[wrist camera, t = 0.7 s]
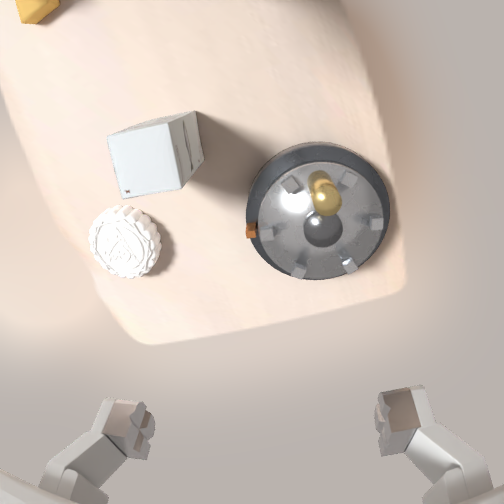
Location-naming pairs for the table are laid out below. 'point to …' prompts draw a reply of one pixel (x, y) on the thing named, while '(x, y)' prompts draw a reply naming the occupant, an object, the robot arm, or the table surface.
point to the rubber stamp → (35, 9)
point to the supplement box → (156, 154)
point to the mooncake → (125, 241)
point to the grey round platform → (301, 155)
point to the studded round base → (320, 219)
